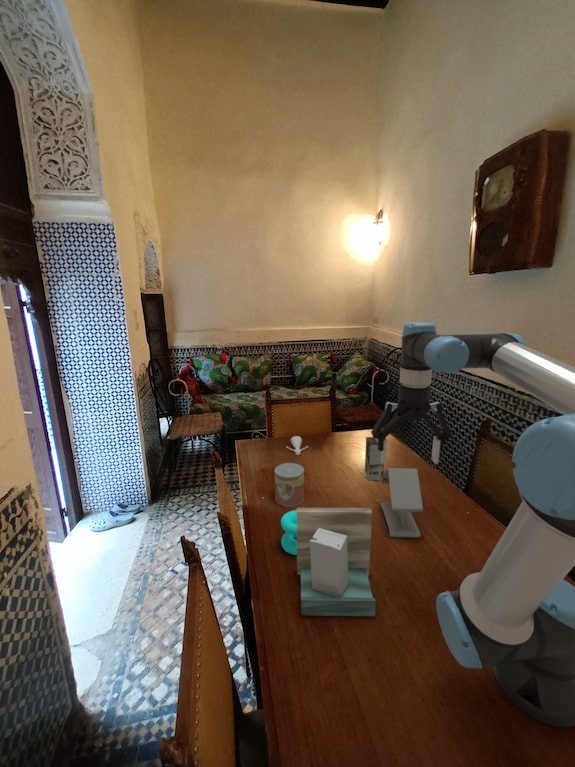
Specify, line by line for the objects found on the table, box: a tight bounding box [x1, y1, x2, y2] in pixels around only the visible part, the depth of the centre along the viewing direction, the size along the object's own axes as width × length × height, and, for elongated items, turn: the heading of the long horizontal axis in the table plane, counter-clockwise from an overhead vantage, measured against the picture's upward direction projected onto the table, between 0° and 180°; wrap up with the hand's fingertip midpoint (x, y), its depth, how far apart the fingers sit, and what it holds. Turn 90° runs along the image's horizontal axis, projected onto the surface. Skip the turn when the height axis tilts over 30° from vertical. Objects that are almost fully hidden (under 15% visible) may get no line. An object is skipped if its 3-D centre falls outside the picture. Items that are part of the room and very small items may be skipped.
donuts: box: [280, 509, 297, 556], centre depth 111 cm, size 10×10×10 cm
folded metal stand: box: [379, 467, 424, 539], centre depth 121 cm, size 18×10×20 cm, turn 176°
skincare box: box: [310, 528, 348, 597], centre depth 91 cm, size 8×6×15 cm
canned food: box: [273, 462, 305, 507], centre depth 137 cm, size 11×11×12 cm
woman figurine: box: [285, 435, 309, 457], centre depth 182 cm, size 12×4×18 cm
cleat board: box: [296, 507, 377, 617], centre depth 92 cm, size 15×20×20 cm
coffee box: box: [364, 436, 385, 481], centre depth 153 cm, size 9×6×16 cm
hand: (408, 461), depth 95 cm, fingers open, 13 cm apart
